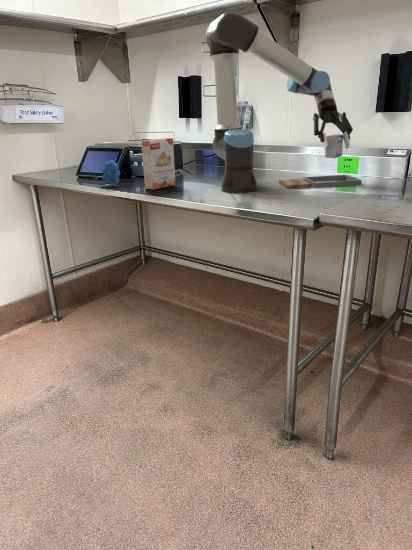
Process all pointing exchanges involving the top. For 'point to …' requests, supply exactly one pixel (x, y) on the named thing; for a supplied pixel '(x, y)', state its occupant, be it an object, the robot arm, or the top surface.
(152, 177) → the cracker box
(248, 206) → the top surface
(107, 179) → the grapes
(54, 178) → the top surface
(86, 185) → the top surface
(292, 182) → the walnut board
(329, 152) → the medicine box
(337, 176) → the bin
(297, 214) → the top surface
